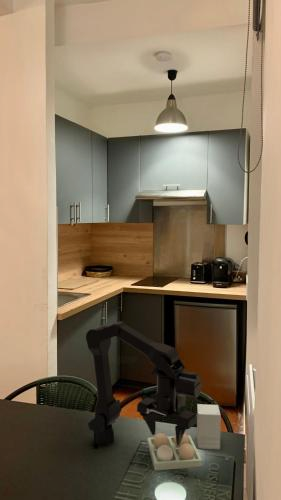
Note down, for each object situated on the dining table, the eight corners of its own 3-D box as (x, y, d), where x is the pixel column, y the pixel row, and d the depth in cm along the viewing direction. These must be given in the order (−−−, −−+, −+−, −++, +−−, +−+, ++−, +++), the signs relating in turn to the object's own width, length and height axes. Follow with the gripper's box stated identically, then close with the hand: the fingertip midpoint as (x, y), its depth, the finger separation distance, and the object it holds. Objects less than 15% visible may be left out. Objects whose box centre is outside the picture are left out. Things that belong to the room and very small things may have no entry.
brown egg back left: (154, 454, 127) (154, 439, 127) (152, 445, 132) (152, 430, 132) (170, 453, 128) (170, 437, 127) (166, 444, 133) (167, 429, 132)
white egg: (158, 467, 120) (158, 451, 120) (155, 457, 125) (155, 442, 125) (174, 466, 121) (174, 450, 120) (171, 456, 126) (171, 441, 125)
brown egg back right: (175, 452, 128) (175, 437, 127) (172, 444, 133) (172, 429, 132) (190, 451, 128) (191, 436, 128) (187, 443, 133) (187, 428, 133)
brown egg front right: (180, 465, 121) (180, 449, 121) (176, 456, 126) (177, 440, 126) (196, 464, 122) (196, 448, 121) (192, 454, 127) (192, 439, 126)
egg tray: (154, 473, 119) (154, 463, 119) (147, 446, 133) (147, 437, 133) (201, 469, 121) (202, 460, 120) (189, 443, 135) (189, 435, 135)
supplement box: (218, 440, 137) (218, 404, 136) (220, 452, 130) (221, 414, 129) (196, 438, 138) (197, 403, 137) (197, 451, 131) (197, 413, 130)
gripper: (206, 389, 122) (205, 438, 123) (156, 374, 133) (156, 420, 134) (187, 401, 113) (187, 455, 114) (135, 385, 125) (135, 433, 126)
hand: (165, 439), depth 122 cm, fingers open, 9 cm apart
